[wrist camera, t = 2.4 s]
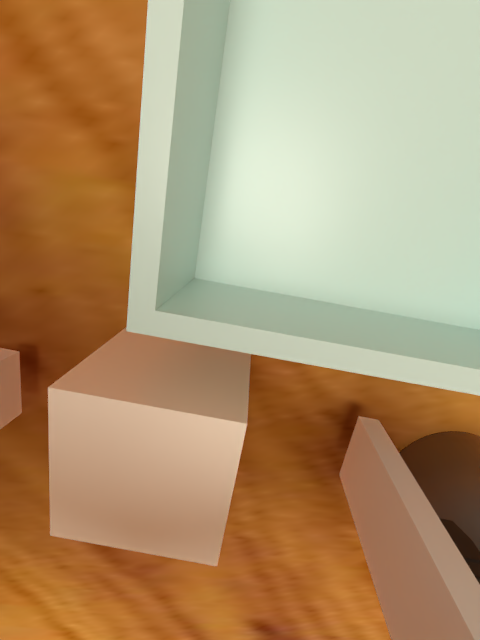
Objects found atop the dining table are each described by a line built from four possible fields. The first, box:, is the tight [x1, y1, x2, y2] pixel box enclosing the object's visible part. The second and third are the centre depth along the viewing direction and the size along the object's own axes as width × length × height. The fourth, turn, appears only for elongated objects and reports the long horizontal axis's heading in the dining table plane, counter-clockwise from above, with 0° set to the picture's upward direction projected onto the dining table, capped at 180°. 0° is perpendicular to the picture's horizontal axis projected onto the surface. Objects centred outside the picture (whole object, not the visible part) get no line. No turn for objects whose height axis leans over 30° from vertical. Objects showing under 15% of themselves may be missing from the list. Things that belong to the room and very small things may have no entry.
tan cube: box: [48, 327, 251, 566], centre depth 11 cm, size 5×5×5 cm
